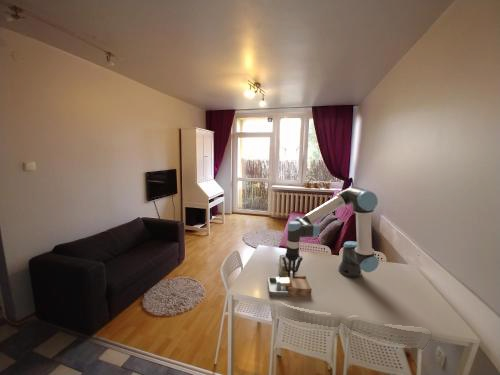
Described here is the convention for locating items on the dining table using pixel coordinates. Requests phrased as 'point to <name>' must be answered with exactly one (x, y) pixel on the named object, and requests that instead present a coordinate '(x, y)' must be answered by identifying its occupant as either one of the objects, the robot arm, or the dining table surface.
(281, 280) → the tile
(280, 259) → the toy car
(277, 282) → the tile
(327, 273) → the dining table surface
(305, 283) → the brown wooden tray
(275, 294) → the box
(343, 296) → the dining table surface
